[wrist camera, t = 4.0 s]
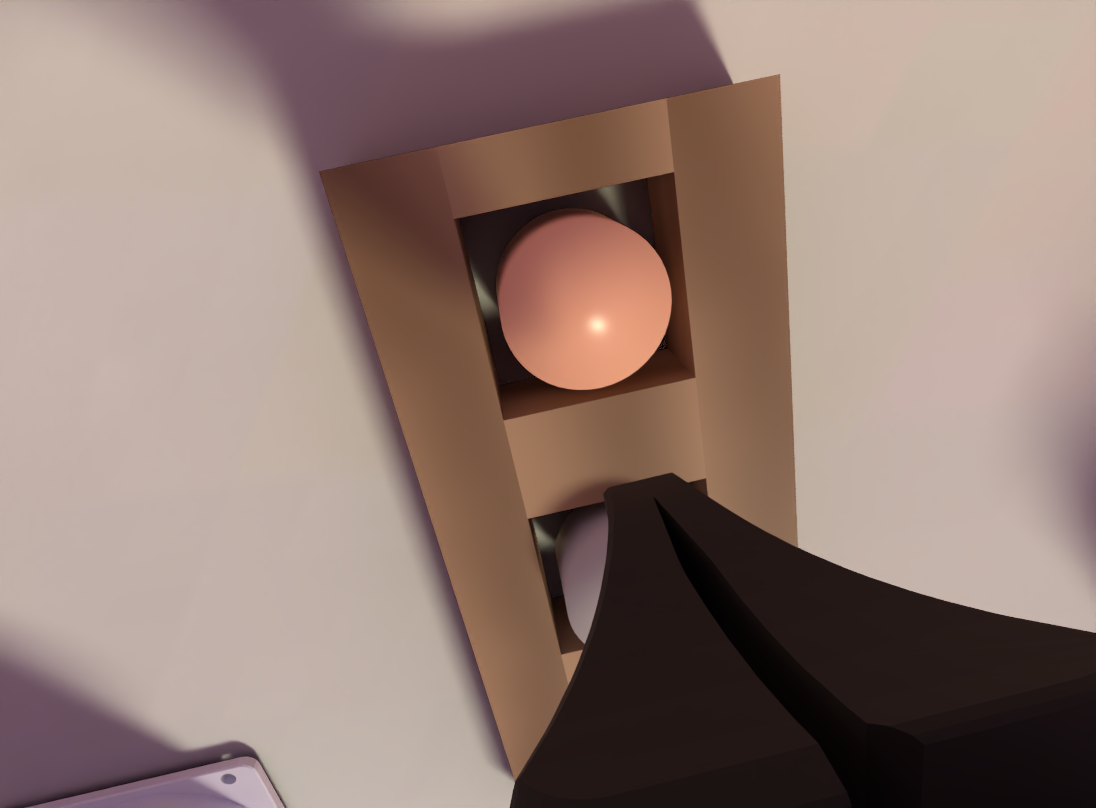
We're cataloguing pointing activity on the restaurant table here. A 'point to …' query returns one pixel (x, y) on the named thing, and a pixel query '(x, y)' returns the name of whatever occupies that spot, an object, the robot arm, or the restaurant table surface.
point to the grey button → (582, 563)
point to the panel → (565, 414)
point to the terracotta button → (582, 299)
